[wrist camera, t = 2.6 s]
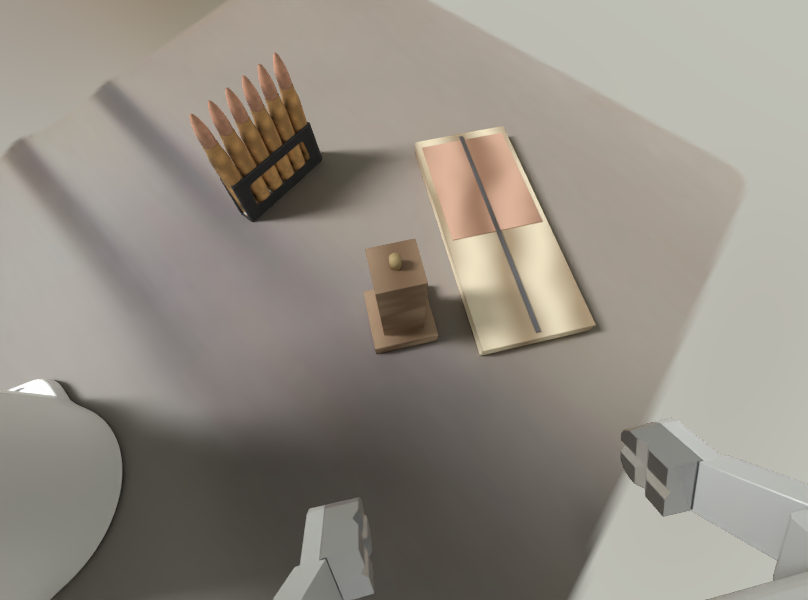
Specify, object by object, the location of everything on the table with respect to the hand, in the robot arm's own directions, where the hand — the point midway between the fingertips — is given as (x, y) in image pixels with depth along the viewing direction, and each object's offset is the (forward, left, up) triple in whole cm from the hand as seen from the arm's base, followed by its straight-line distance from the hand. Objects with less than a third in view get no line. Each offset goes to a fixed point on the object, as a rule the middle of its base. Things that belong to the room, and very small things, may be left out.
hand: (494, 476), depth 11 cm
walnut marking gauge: (-1, +13, -19) cm, 23 cm away
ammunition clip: (-10, +31, -19) cm, 38 cm away
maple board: (+10, +20, -19) cm, 30 cm away
